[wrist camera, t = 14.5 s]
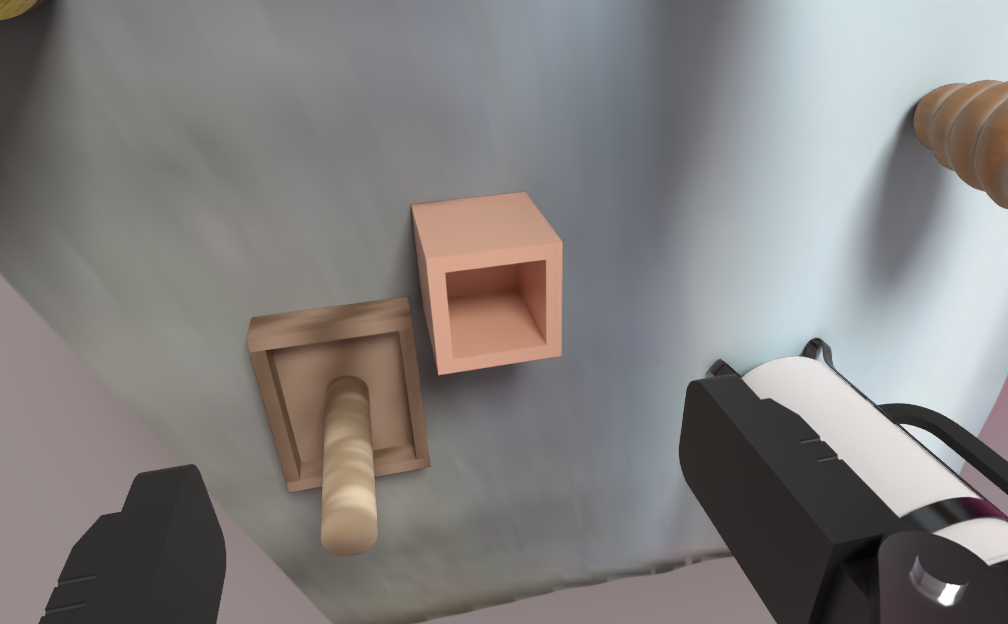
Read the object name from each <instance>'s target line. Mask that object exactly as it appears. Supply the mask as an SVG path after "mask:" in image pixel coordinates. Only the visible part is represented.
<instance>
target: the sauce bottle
mask: <svg viewBox="0 0 1008 624" xmlns="http://www.w3.org/2000/svg"><path fill="white" fill-rule="evenodd" d="M45 1H46V0H0V20H4V19H9V18H13V17H16V16H18V15H20V14H23V13H27V12H30V11H33V10H34V9H36V8H37V7H38V6H39V5H41V4H42V3H44V2H45Z"/></svg>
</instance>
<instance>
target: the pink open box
mask: <svg viewBox="0 0 1008 624" xmlns="http://www.w3.org/2000/svg"><path fill="white" fill-rule="evenodd" d="M411 209H412V217H413V226H414V235H415V243H416V252H417V261H418V269H419V278H420V287H421V295H422V304H423V310H424V314H425V318H426V323H427V327H428V332H429V336H430V340H431V345H432V349H433V353H434V358H435V362H436V367H437V371H438V375H442V374H449V373H455V372H461V371H468V370H474V369H480V368H487V367H493V366H500V365H506V364H512V363H519V362H525V361H531V360H538V359H544V358H551V357H557V356H562V254H563V242H562V240H561V239H560V238H559V236H558V235H557V234H556V232H555V231H554V230H553V228H552V227H551V226H550V224H549V223H548V222H547V220H546V219H545V218H544V216H543V215H542V214H541V212H540V211H539V210H538V208H537V207H536V206H535V204H534V203H533V202H532V200H531V199H530V198H529V196H528V195H527V194H526V192H519V193H510V194H501V195H492V196H483V197H474V198H465V199H456V200H447V201H438V202H429V203H420V204H411Z"/></svg>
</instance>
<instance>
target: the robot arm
mask: <svg viewBox="0 0 1008 624" xmlns="http://www.w3.org/2000/svg"><path fill="white" fill-rule="evenodd" d="M679 459H680V465H681V469H682V472H683V475H684V478H685V480H686V482H687V484H688V485H689V487H690V489H691V490H692V492H693V493H694V495H695V496H696V498H697V500H698V501H699V503H700V504H701V506H702V507H703V509H704V511H705V512H706V514H707V515H708V517H709V518H710V520H711V521H712V523H713V525H714V526H715V528H716V529H717V531H718V532H719V534H720V535H721V537H722V539H723V540H724V542H725V543H726V545H727V546H728V548H729V550H730V551H731V553H732V554H733V556H734V557H735V559H736V560H737V562H738V564H739V565H740V566H741V568H742V570H743V571H744V573H745V574H746V576H747V578H748V579H749V581H750V582H751V584H752V585H753V587H754V588H755V590H756V592H757V593H758V595H759V596H760V598H761V599H762V601H763V603H764V604H765V606H766V607H767V609H768V610H769V612H770V613H771V615H772V617H773V618H774V620H775V621H776V623H777V624H1008V568H1004V567H993V566H989V565H988V564H987V563H986V562H985V561H984V560H982V559H981V558H980V557H979V556H977V555H976V554H975V553H973V552H972V551H970V550H969V549H967V548H966V547H964V546H962V545H960V544H958V543H956V542H954V541H952V540H950V539H947V538H945V537H942V536H939V535H936V534H932V533H927V532H920V531H912V530H911V529H910V528H909V527H908V526H907V525H906V524H905V523H904V522H903V521H902V520H901V519H900V518H899V517H898V516H897V515H896V514H895V513H894V512H893V511H892V510H891V509H890V508H889V507H888V506H887V505H886V504H885V502H884V501H883V500H882V499H881V498H880V497H879V496H878V495H877V494H876V493H875V492H874V491H873V490H872V489H871V488H870V487H869V486H868V485H867V484H866V483H865V482H864V481H863V480H862V479H861V478H860V477H859V476H858V475H857V474H856V473H855V472H854V471H853V470H852V469H851V468H850V467H849V465H848V464H847V463H846V462H845V461H844V460H843V459H840V460H839V458H838V454H837V453H836V452H835V451H834V450H833V449H832V448H831V447H830V446H829V445H828V444H827V443H826V442H825V441H821V439H820V436H819V435H818V434H817V433H816V432H815V431H814V430H813V429H812V427H811V426H810V425H809V424H808V423H807V422H806V421H805V420H804V419H803V418H802V417H801V416H800V415H799V414H797V413H795V412H793V411H792V410H790V409H788V408H787V407H785V406H783V405H781V404H780V403H778V402H776V401H774V400H773V399H771V398H766V399H760V398H759V397H758V396H757V395H756V394H755V393H754V391H753V390H752V389H751V388H750V387H749V386H748V385H747V384H746V383H745V382H744V381H743V380H742V379H741V378H740V377H739V376H737V375H735V374H729V375H723V376H717V377H712V378H706V379H700V380H694V381H691V382H690V383H689V385H688V387H687V391H686V398H685V405H684V413H683V421H682V428H681V436H680V444H679ZM225 572H226V548H225V541H224V536H223V533H222V530H221V527H220V525H219V522H218V519H217V516H216V514H215V511H214V508H213V506H212V503H211V501H210V498H209V495H208V492H207V490H206V487H205V484H204V482H203V479H202V476H201V474H200V471H199V470H198V468H197V467H196V466H195V465H194V464H189V465H184V466H178V467H172V468H166V469H160V470H154V471H149V472H142V473H139V474H138V475H137V476H136V477H135V479H134V481H133V483H132V485H131V488H130V490H129V493H128V495H127V498H126V501H125V503H124V506H123V508H122V511H121V512H117V513H112V514H106V515H102V516H100V517H99V519H98V520H97V521H96V522H95V523H94V524H93V525H92V526H91V527H90V528H89V530H88V531H87V532H86V533H85V534H84V535H83V536H82V537H81V538H80V540H79V541H78V542H77V543H76V544H75V545H74V546H73V548H72V550H71V553H70V554H69V557H68V559H67V561H66V564H65V566H64V568H63V570H62V572H61V575H60V577H59V579H58V587H55V588H54V590H53V592H52V595H51V597H50V599H49V601H48V604H47V606H46V608H45V611H46V614H45V616H43V617H41V619H40V622H39V624H216V621H217V615H218V611H219V605H220V600H221V595H222V589H223V584H224V578H225Z"/></svg>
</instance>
